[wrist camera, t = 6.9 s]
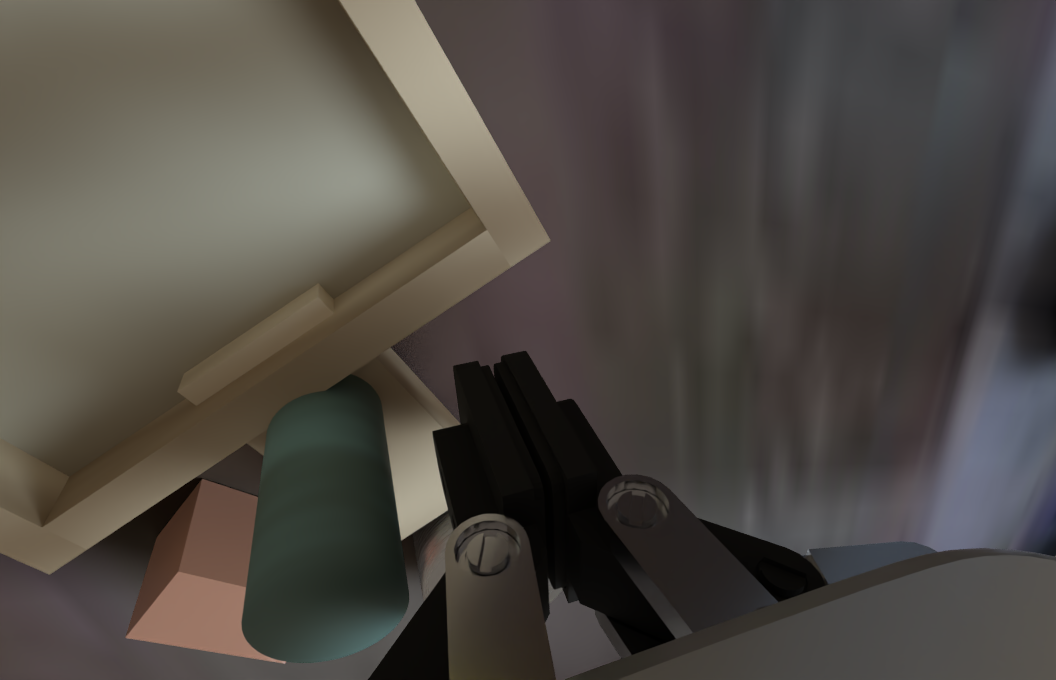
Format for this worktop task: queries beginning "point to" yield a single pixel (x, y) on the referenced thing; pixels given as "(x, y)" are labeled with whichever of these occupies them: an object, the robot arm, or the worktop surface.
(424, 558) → the hub
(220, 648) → the pink rectangular block
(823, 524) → the worktop surface
